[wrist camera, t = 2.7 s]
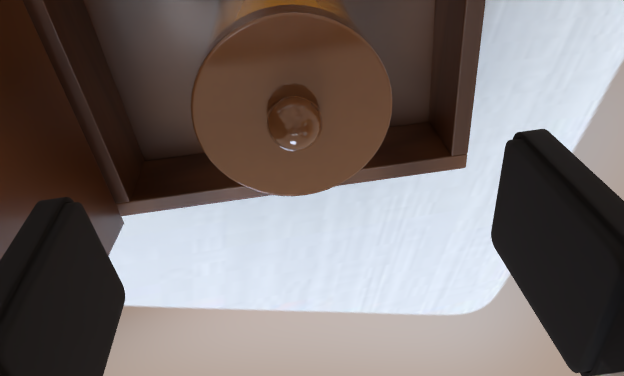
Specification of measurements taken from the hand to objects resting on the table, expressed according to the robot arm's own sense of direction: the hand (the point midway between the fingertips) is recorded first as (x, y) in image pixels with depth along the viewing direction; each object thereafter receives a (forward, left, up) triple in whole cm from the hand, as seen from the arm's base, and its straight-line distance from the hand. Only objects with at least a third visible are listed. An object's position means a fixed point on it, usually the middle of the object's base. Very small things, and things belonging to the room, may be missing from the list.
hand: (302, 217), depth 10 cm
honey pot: (0, 0, -13) cm, 13 cm away
